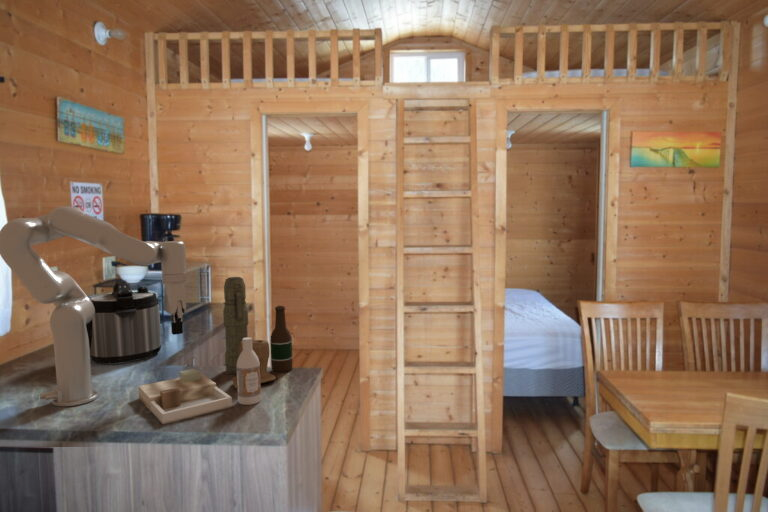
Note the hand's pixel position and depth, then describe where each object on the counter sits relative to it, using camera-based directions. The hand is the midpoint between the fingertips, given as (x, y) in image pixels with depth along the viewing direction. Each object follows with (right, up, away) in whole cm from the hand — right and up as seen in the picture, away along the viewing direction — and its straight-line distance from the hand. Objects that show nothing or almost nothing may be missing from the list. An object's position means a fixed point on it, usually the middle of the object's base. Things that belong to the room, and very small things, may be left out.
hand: (177, 333), depth 170 cm
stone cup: (+23, -19, +7) cm, 30 cm away
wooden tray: (+2, -20, -5) cm, 20 cm away
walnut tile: (+3, -17, -14) cm, 22 cm away
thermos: (+14, -17, +22) cm, 31 cm away
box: (+11, -20, -16) cm, 28 cm away
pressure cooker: (-39, -17, +43) cm, 61 cm away
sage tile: (+4, -15, 0) cm, 16 cm away
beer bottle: (+30, -17, +22) cm, 41 cm away
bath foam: (+27, -20, -10) cm, 35 cm away
